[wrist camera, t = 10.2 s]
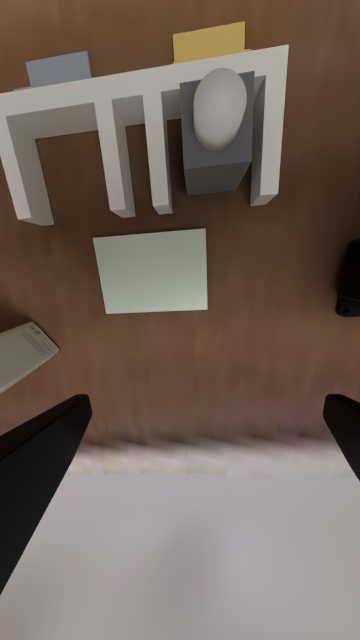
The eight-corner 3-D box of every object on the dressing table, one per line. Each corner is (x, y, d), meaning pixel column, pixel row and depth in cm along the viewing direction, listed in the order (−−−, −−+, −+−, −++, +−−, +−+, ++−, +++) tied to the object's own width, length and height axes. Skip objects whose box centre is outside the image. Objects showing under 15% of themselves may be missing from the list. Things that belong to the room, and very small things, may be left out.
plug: (236, 130, 14) (264, 40, 9) (235, 190, 15) (259, 146, 10) (184, 137, 15) (176, 55, 9) (187, 196, 16) (182, 156, 10)
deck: (205, 229, 16) (205, 228, 16) (207, 308, 18) (207, 309, 18) (96, 238, 17) (92, 237, 17) (108, 312, 19) (106, 313, 19)
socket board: (275, 20, 12) (294, -38, 10) (265, 204, 15) (277, 193, 13) (4, 70, 14) (-34, 31, 12) (42, 225, 17) (17, 219, 15)
